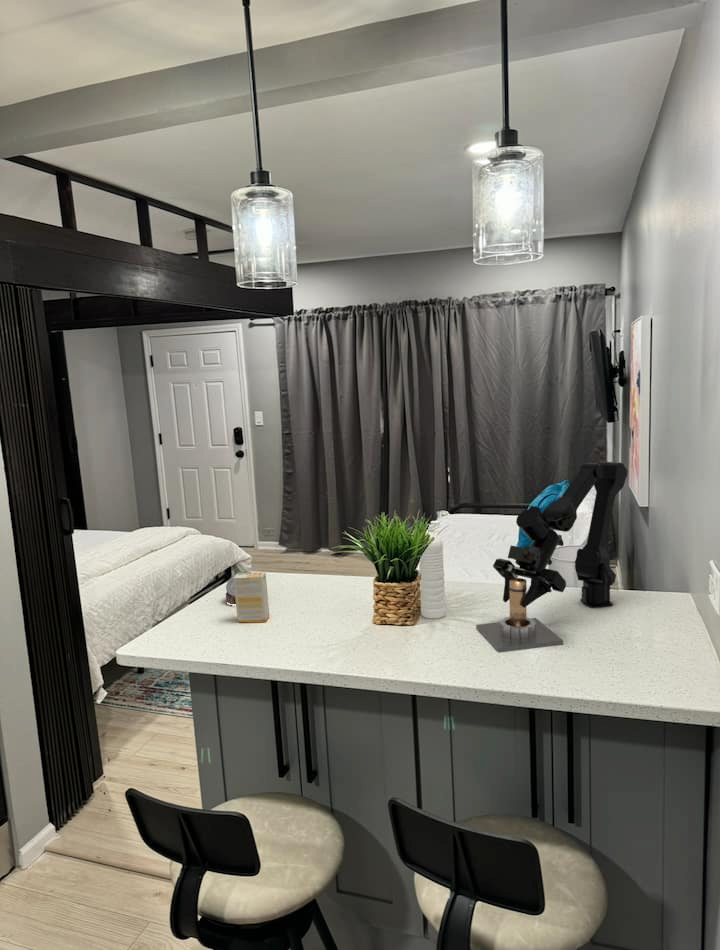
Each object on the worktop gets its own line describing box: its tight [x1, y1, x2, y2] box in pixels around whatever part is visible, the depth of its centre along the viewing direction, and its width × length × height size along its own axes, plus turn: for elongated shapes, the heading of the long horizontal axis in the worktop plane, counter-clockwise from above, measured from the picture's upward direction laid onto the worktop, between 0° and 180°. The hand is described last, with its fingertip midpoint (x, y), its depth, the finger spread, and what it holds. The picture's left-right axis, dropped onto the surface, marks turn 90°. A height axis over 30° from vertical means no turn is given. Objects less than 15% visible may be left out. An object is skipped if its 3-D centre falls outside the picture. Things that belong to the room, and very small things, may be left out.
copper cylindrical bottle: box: [509, 577, 528, 627], centre depth 170 cm, size 4×4×13 cm
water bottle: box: [418, 520, 447, 620], centre depth 189 cm, size 9×6×25 cm
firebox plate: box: [475, 616, 564, 653], centre depth 171 cm, size 16×16×4 cm
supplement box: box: [233, 571, 270, 623], centre depth 193 cm, size 8×5×13 cm, turn 84°
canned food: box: [225, 570, 253, 604], centre depth 211 cm, size 11×10×10 cm
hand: (513, 603), depth 169 cm, fingers open, 5 cm apart
